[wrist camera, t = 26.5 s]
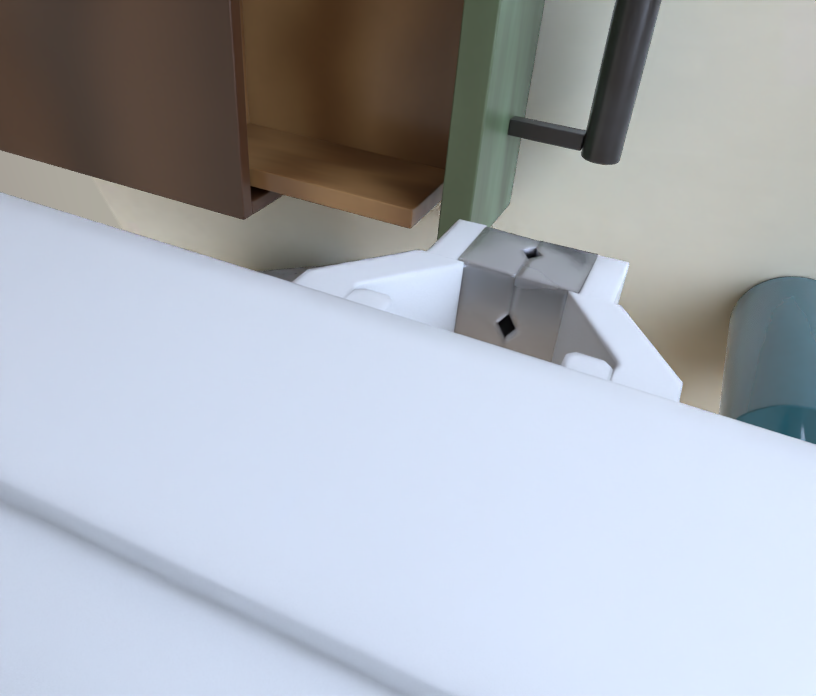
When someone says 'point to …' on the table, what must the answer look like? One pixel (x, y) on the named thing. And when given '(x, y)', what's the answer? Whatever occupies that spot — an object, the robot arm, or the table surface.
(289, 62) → the drawer
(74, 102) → the cabinet
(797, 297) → the cutlery cup
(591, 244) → the table surface
